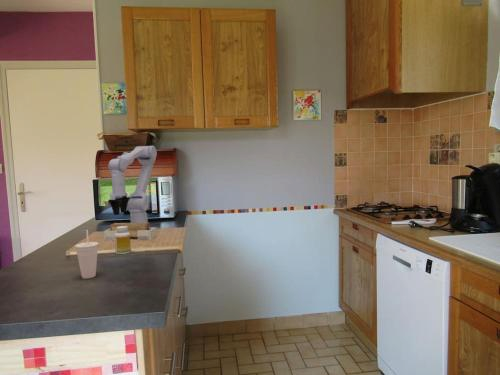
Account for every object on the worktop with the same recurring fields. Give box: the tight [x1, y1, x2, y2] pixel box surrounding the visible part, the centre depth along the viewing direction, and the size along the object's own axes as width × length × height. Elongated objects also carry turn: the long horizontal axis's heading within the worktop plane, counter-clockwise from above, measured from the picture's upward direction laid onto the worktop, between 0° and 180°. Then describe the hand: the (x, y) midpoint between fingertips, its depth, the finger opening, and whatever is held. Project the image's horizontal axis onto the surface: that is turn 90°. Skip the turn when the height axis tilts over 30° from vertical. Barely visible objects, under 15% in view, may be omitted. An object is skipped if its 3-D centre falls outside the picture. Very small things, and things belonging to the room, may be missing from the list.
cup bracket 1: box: [103, 227, 117, 241], centre depth 155 cm, size 7×6×4 cm
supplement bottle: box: [114, 226, 132, 255], centre depth 130 cm, size 5×5×10 cm
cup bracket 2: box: [136, 227, 157, 241], centre depth 154 cm, size 7×6×4 cm
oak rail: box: [109, 222, 151, 237], centre depth 154 cm, size 4×16×5 cm, turn 87°
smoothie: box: [74, 229, 100, 280], centre depth 102 cm, size 6×6×14 cm
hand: (120, 213), depth 163 cm, fingers open, 7 cm apart
